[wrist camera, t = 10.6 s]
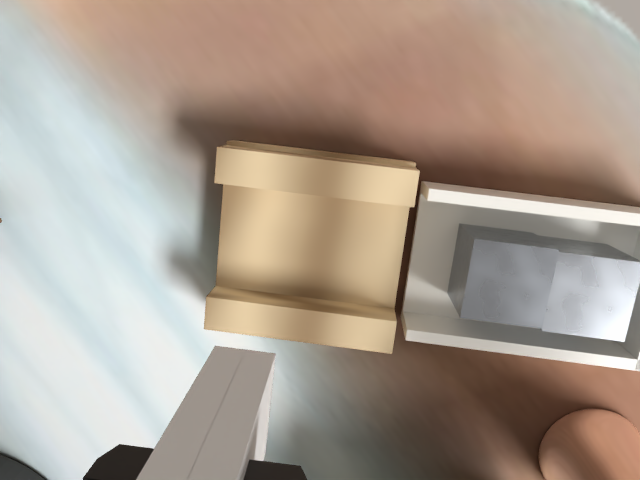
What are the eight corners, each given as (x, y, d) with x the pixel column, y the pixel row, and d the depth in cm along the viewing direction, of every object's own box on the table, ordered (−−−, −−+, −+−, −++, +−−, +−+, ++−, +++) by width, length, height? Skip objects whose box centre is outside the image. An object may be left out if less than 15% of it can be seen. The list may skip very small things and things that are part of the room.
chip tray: (400, 317, 32) (405, 340, 29) (421, 181, 31) (429, 188, 27) (616, 345, 32) (646, 371, 29) (650, 208, 30) (686, 219, 27)
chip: (518, 304, 31) (541, 331, 27) (532, 234, 30) (558, 252, 26) (590, 313, 31) (624, 341, 27) (607, 244, 30) (644, 262, 26)
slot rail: (219, 310, 33) (203, 332, 30) (232, 140, 31) (217, 142, 27) (387, 332, 33) (391, 357, 29) (413, 161, 30) (420, 166, 27)
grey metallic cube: (447, 292, 31) (460, 317, 27) (459, 223, 30) (474, 238, 26) (518, 302, 31) (542, 328, 27) (533, 232, 30) (559, 249, 26)
